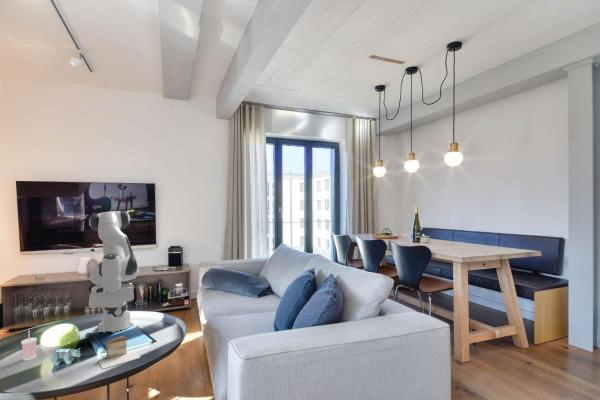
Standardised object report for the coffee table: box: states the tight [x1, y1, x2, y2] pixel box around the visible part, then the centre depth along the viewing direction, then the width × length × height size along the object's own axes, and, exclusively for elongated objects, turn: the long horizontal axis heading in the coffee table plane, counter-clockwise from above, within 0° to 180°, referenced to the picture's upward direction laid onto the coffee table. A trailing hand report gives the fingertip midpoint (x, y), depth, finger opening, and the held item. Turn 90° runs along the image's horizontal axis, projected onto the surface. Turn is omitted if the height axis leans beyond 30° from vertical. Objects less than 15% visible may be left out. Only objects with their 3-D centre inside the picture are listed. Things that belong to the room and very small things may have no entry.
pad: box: [98, 350, 141, 370], centre depth 158 cm, size 9×16×1 cm, turn 131°
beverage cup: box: [20, 329, 38, 361], centre depth 162 cm, size 6×6×14 cm
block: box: [105, 335, 128, 359], centre depth 163 cm, size 4×8×8 cm, turn 131°
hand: (112, 312), depth 170 cm, fingers open, 5 cm apart
